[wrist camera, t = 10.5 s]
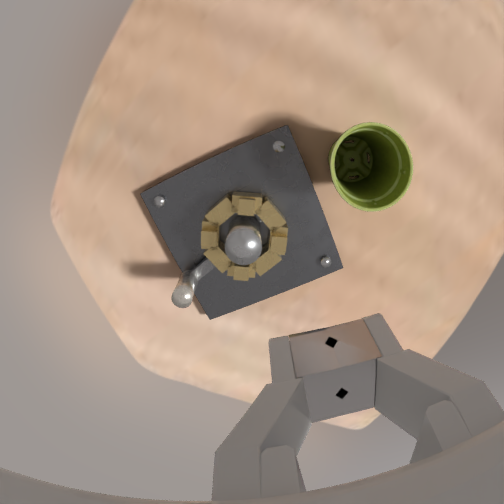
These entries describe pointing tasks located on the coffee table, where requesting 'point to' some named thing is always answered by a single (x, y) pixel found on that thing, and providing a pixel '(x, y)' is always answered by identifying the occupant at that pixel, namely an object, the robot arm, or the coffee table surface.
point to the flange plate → (253, 180)
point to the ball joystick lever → (216, 248)
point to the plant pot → (371, 166)
